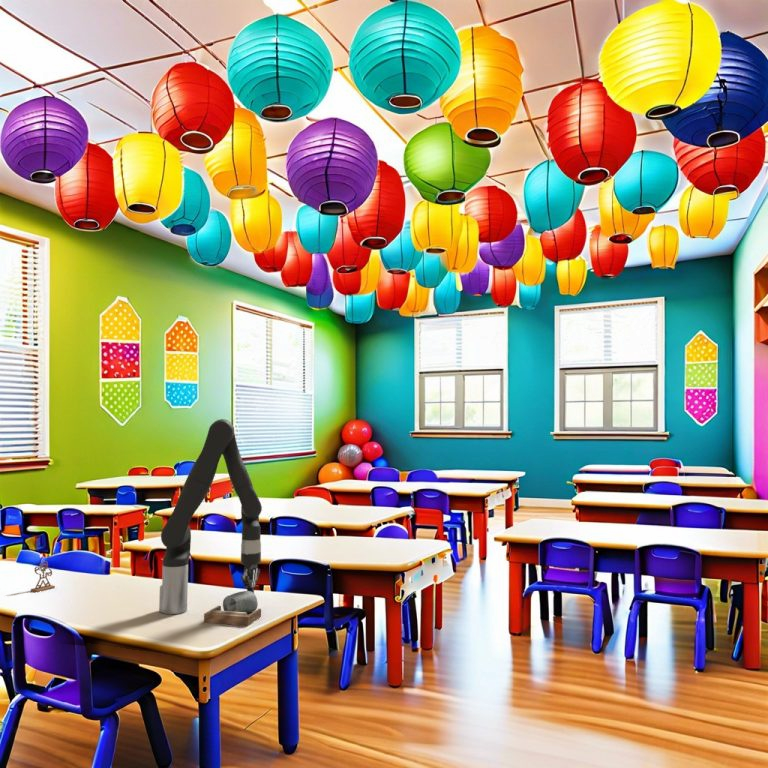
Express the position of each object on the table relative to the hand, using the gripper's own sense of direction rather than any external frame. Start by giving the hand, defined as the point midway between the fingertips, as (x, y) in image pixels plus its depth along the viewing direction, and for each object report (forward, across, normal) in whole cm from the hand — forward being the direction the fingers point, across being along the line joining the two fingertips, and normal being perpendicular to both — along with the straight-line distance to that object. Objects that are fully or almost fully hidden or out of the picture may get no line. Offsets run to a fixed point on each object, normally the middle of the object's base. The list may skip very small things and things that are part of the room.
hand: (250, 596), depth 260 cm
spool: (+5, +8, 0) cm, 9 cm away
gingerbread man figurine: (+4, -6, -96) cm, 96 cm away
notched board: (+4, +15, 0) cm, 15 cm away
